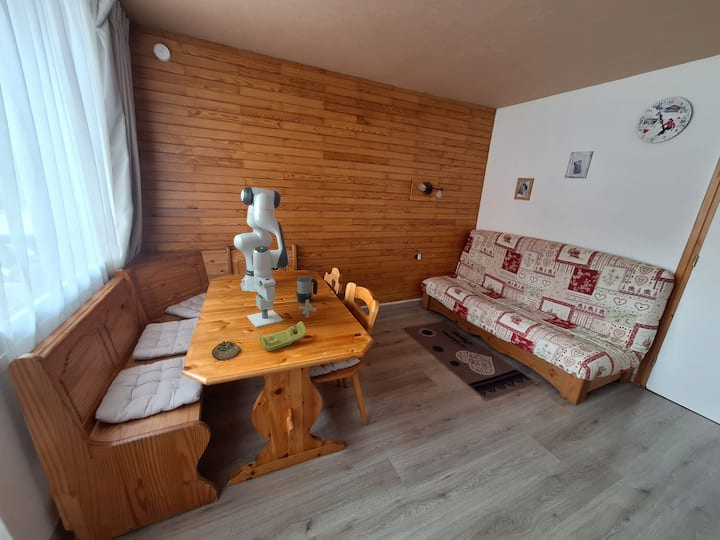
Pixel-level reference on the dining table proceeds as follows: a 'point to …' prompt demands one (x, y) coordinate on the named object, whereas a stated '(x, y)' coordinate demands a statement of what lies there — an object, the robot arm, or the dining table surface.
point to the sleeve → (262, 303)
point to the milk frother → (306, 289)
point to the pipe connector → (307, 308)
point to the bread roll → (225, 350)
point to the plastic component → (283, 337)
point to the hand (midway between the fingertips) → (264, 303)
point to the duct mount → (264, 318)
